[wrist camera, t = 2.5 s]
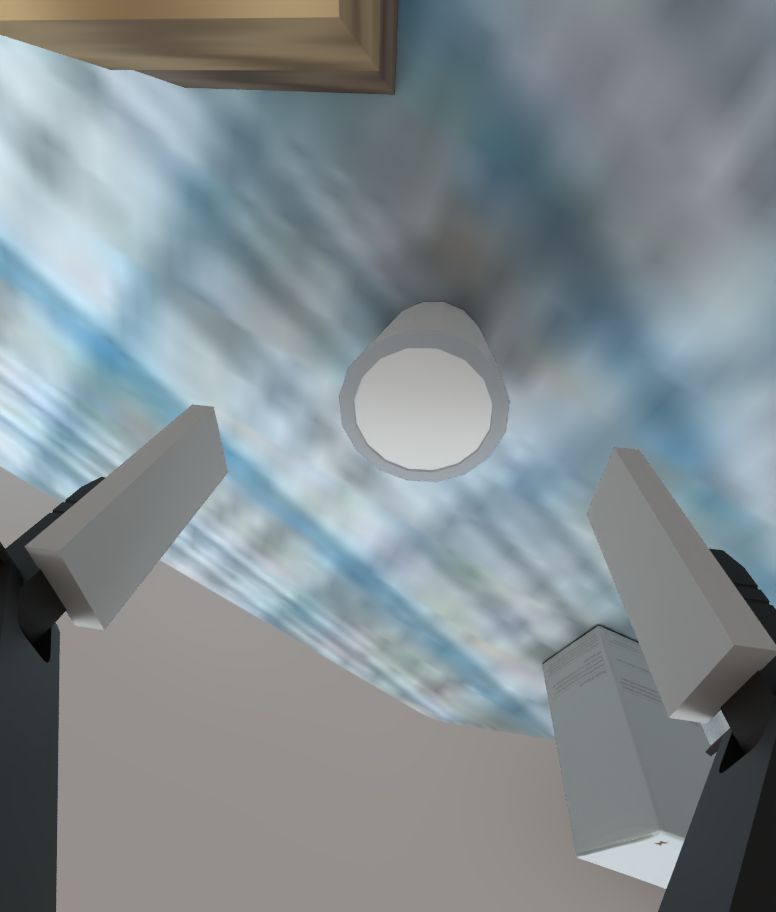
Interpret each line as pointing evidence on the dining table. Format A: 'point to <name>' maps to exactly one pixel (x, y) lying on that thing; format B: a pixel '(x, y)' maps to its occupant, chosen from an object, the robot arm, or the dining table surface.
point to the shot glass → (425, 396)
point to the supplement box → (623, 757)
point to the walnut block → (304, 79)
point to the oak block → (202, 33)
